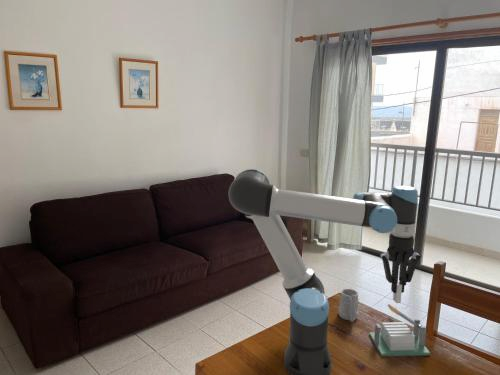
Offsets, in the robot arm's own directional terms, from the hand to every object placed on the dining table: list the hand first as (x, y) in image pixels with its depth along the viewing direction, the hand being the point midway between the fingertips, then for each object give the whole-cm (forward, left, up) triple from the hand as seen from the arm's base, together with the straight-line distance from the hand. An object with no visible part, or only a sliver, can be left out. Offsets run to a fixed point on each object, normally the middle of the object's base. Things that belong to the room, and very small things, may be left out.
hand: (396, 300), depth 128 cm
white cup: (-10, +17, -17) cm, 26 cm away
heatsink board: (+2, 0, -17) cm, 17 cm away
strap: (+3, 0, -7) cm, 8 cm away
